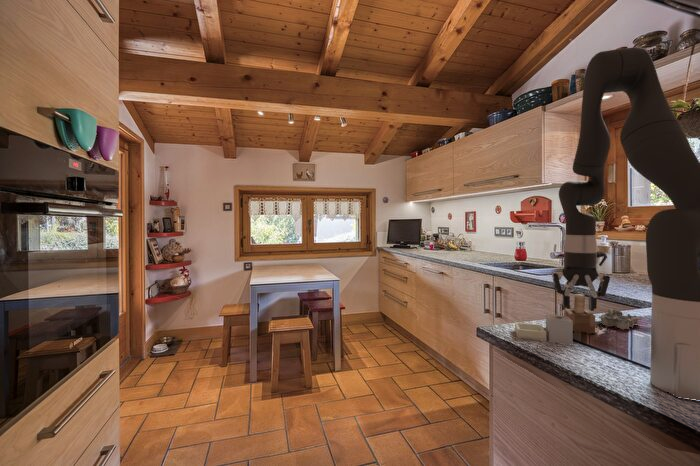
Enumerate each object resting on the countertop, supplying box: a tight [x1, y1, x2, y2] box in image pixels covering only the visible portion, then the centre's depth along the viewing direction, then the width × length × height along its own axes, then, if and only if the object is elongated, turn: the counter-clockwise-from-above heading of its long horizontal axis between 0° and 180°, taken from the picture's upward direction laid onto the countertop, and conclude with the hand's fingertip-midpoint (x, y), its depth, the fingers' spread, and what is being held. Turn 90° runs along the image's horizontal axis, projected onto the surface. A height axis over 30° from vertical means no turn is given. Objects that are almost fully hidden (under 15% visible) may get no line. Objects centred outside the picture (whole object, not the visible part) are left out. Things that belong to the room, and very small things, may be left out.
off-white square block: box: [545, 314, 573, 346], centre depth 84 cm, size 5×5×6 cm
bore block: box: [563, 308, 596, 334], centre depth 92 cm, size 6×6×5 cm
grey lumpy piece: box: [598, 307, 640, 329], centre depth 96 cm, size 11×8×4 cm
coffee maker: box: [596, 250, 608, 279], centre depth 179 cm, size 15×9×18 cm, turn 17°
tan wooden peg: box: [573, 293, 586, 314], centre depth 92 cm, size 2×2×10 cm
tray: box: [514, 321, 547, 342], centre depth 87 cm, size 7×7×2 cm
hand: (579, 309), depth 92 cm, fingers open, 5 cm apart
